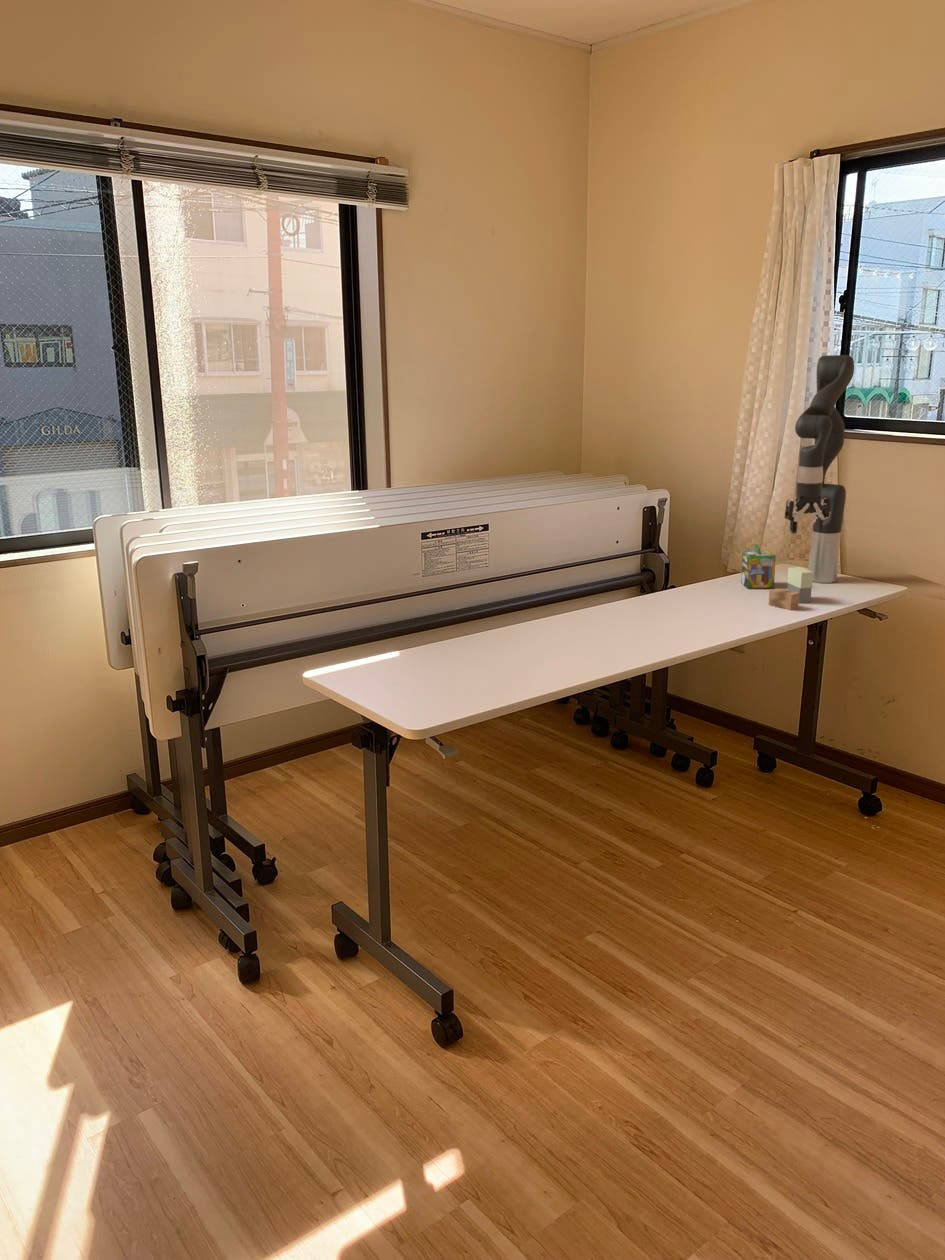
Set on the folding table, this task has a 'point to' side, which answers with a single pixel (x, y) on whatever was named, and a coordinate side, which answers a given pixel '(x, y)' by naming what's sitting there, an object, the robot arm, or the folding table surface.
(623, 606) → the folding table surface
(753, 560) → the chalk box
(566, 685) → the folding table surface
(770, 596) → the walnut brick
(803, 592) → the charcoal brick
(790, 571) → the sage brick
